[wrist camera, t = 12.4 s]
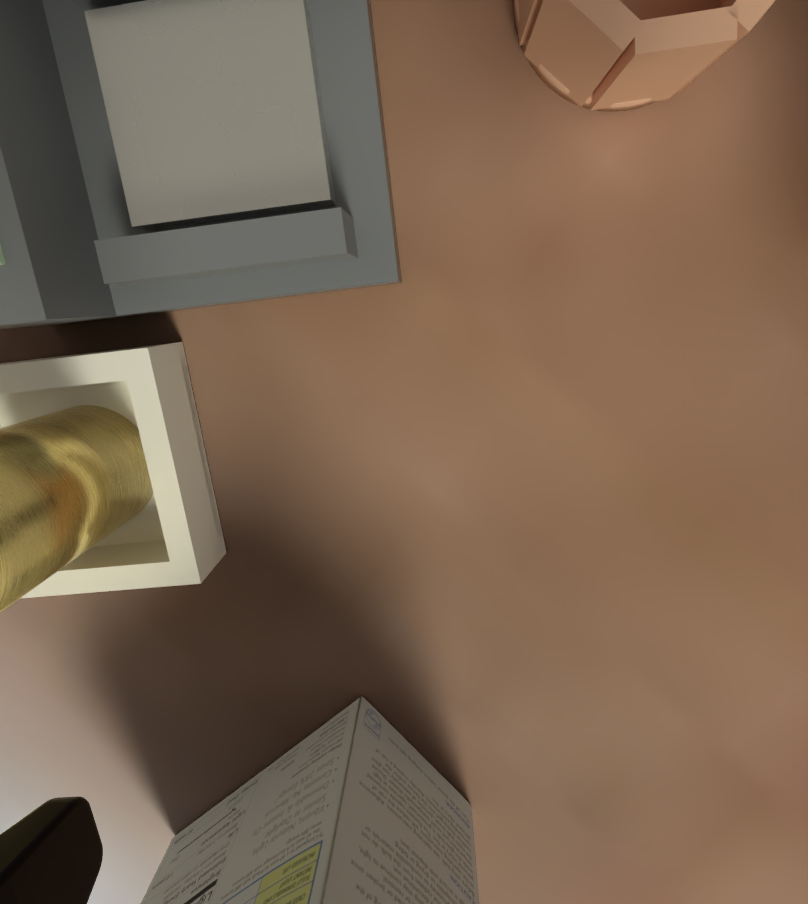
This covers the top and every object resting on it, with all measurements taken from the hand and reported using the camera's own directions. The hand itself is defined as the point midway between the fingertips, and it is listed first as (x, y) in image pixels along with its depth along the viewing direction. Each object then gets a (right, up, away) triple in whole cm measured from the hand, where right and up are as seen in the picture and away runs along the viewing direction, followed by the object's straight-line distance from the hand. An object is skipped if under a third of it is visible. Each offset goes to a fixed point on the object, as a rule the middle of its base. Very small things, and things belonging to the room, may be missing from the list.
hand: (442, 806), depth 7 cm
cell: (-10, +4, +12) cm, 16 cm away
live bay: (-10, +4, +12) cm, 16 cm away
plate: (-5, +13, +8) cm, 16 cm away
